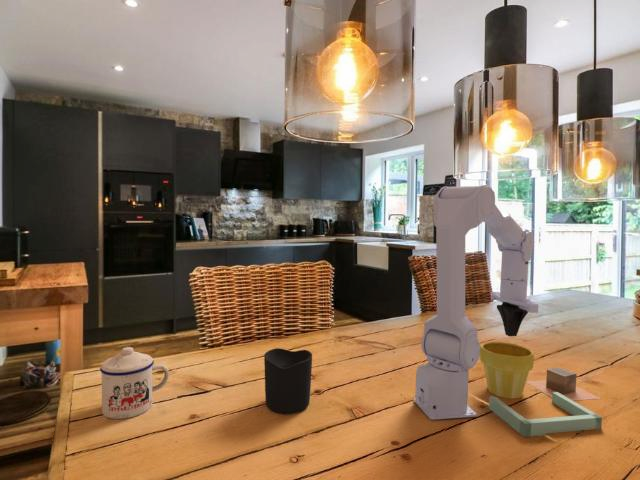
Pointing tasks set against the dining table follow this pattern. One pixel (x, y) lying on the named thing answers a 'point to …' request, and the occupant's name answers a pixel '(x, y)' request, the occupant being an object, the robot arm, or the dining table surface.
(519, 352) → the plant pot
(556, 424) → the frame
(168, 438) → the dining table surface
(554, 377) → the walnut block
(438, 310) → the robot arm
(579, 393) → the terracotta mat
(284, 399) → the pen holder
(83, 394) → the dining table surface
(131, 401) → the teacup with lid
